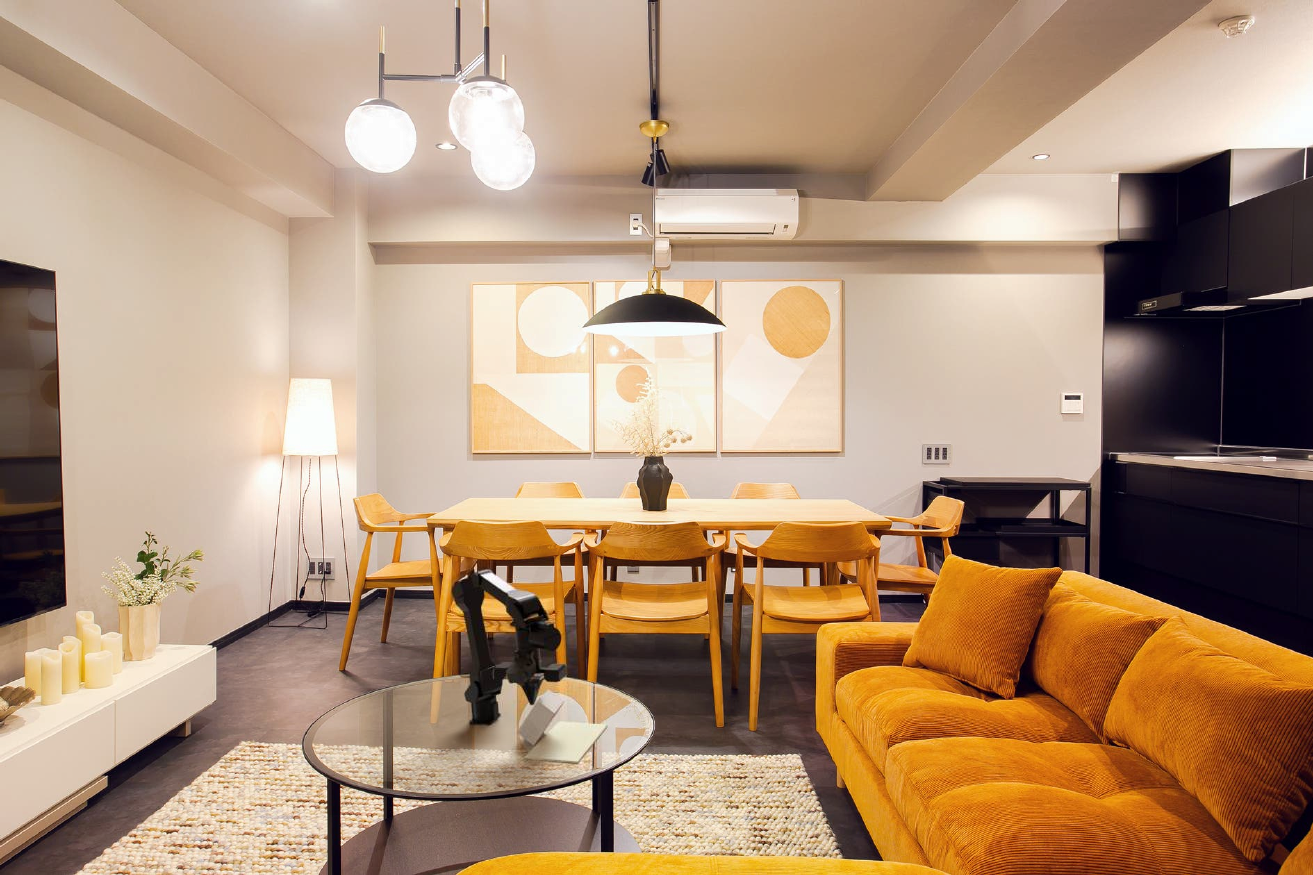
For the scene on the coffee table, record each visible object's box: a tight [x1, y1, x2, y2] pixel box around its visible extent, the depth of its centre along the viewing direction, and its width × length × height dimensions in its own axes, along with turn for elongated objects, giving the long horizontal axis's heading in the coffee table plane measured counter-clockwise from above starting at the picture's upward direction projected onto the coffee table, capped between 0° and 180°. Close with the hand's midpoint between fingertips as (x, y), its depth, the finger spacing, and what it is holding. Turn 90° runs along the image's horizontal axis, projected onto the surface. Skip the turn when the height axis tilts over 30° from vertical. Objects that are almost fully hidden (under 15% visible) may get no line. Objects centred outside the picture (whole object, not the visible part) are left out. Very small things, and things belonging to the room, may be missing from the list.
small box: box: [516, 688, 565, 746], centre depth 183 cm, size 8×6×10 cm
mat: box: [524, 720, 609, 764], centre depth 181 cm, size 14×20×1 cm
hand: (532, 704), depth 183 cm, fingers closed
